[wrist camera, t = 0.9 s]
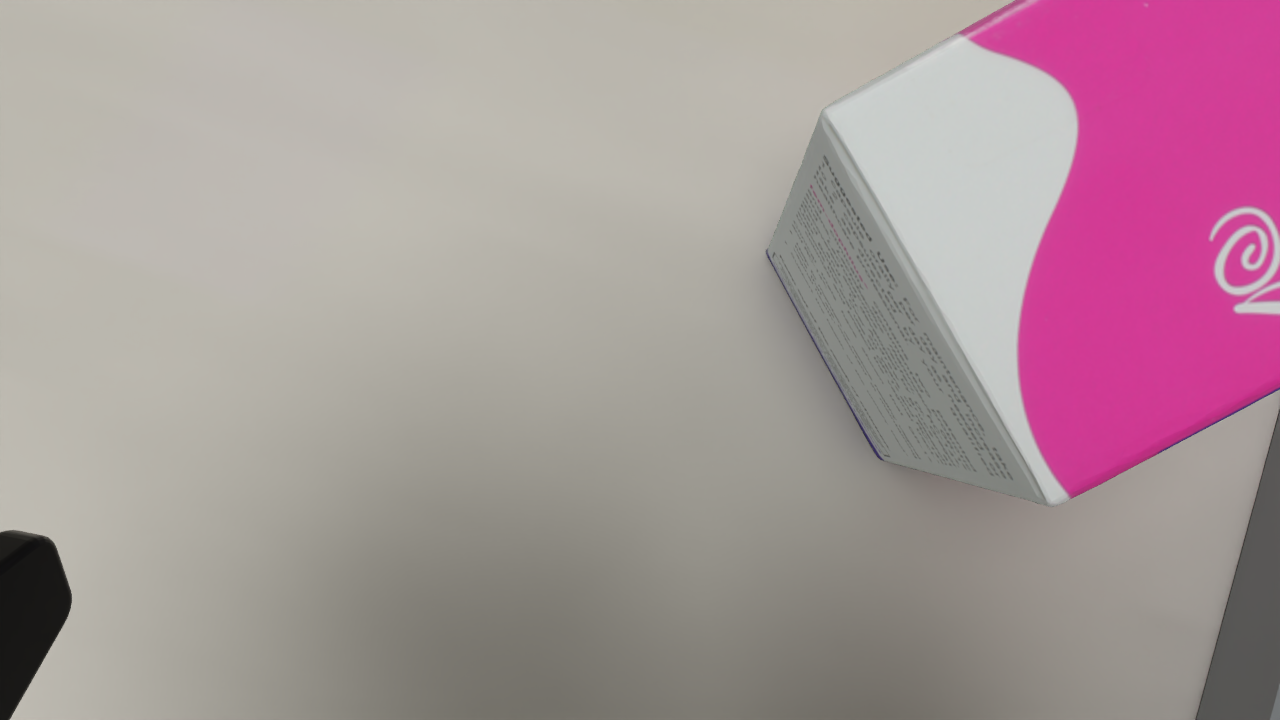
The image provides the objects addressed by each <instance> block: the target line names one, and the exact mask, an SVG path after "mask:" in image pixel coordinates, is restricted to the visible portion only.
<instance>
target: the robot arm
mask: <svg viewBox="0 0 1280 720" xmlns="http://www.w3.org/2000/svg"><path fill="white" fill-rule="evenodd" d="M71 603H72V594H71V590H70V587H69V584H68V581H67V578H66V575H65V572H64V569H63V566H62V563H61V560H60V557H59V554H58V551H57V548H56V546H55V544H54V542H53V541H52V540H50V539H49V538H48V537H45V536H42V535H37V534H32V533H27V532H22V531H16V530H9V531H4V532H1V533H0V720H10V718H11V716H12V714H13V713H14V711H15V709H16V707H17V706H18V704H19V702H20V700H21V699H22V697H23V695H24V693H25V692H26V690H27V688H28V686H29V685H30V683H31V681H32V679H33V678H34V676H35V674H36V672H37V671H38V669H39V667H40V665H41V664H42V662H43V660H44V658H45V657H46V655H47V653H48V651H49V650H50V648H51V646H52V644H53V642H54V641H55V639H56V637H57V635H58V634H59V632H60V630H61V628H62V627H63V625H64V623H65V621H66V619H67V617H68V615H69V612H70V608H71Z"/></svg>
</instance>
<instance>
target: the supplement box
mask: <svg viewBox="0 0 1280 720" xmlns="http://www.w3.org/2000/svg"><path fill="white" fill-rule="evenodd" d="M766 254H767V256H768V258H769V260H770V262H771V264H772V265H773V267H774V269H775V271H776V273H777V275H778V276H779V278H780V280H781V282H782V284H783V286H784V288H785V290H786V291H787V293H788V295H789V297H790V299H791V301H792V302H793V304H794V306H795V308H796V310H797V312H798V314H799V315H800V317H801V319H802V321H803V323H804V325H805V327H806V328H807V330H808V332H809V334H810V336H811V338H812V340H813V341H814V343H815V345H816V347H817V349H818V351H819V352H820V354H821V356H822V358H823V360H824V361H825V363H826V365H827V367H828V369H829V371H830V372H831V374H832V376H833V378H834V380H835V381H836V383H837V385H838V387H839V389H840V391H841V392H842V394H843V396H844V398H845V400H846V401H847V403H848V405H849V407H850V409H851V410H852V412H853V414H854V416H855V418H856V420H857V422H858V423H859V425H860V427H861V429H862V431H863V433H864V435H865V436H866V438H867V440H868V442H869V444H870V445H871V447H872V448H873V451H874V452H875V454H876V455H877V457H878V458H879V459H881V460H883V461H887V462H891V463H894V464H898V465H901V466H905V467H909V468H912V469H917V470H921V471H923V472H928V473H931V474H934V475H938V476H943V477H946V478H949V479H953V480H957V481H960V482H963V483H967V484H970V485H975V486H978V487H981V488H985V489H989V490H993V491H997V492H1000V493H1004V494H1008V495H1010V496H1014V497H1019V498H1022V499H1027V500H1030V501H1033V502H1035V503H1038V504H1043V505H1045V506H1049V507H1054V506H1057V505H1060V504H1063V503H1064V502H1066V501H1068V500H1070V499H1072V498H1074V497H1076V496H1078V495H1080V494H1082V493H1084V492H1086V491H1088V490H1090V489H1092V488H1094V487H1096V486H1098V485H1100V484H1102V483H1104V482H1106V481H1107V480H1109V479H1111V478H1113V477H1115V476H1117V475H1119V474H1120V473H1122V472H1124V471H1126V470H1128V469H1130V468H1132V467H1134V466H1136V465H1138V464H1139V463H1141V462H1143V461H1145V460H1147V459H1149V458H1151V457H1153V456H1155V455H1157V454H1159V453H1160V452H1162V451H1164V450H1166V449H1168V448H1170V447H1172V446H1173V445H1175V444H1177V443H1179V442H1181V441H1183V440H1185V439H1187V438H1189V437H1190V436H1192V435H1194V434H1196V433H1198V432H1200V431H1202V430H1204V429H1206V428H1208V427H1209V426H1211V425H1213V424H1215V423H1217V422H1219V421H1221V420H1223V419H1225V418H1227V417H1229V416H1231V415H1232V414H1234V413H1236V412H1238V411H1240V410H1242V409H1244V408H1246V407H1248V406H1249V405H1251V404H1253V403H1255V402H1257V401H1258V400H1260V399H1262V398H1264V397H1266V396H1268V395H1270V394H1272V393H1273V392H1275V391H1277V390H1279V389H1280V0H1015V1H1013V2H1012V3H1010V4H1008V5H1006V6H1004V7H1003V8H1001V9H999V10H997V11H996V12H994V13H992V14H990V15H988V16H987V17H985V18H983V19H981V20H979V21H977V22H976V23H974V24H972V25H970V26H969V27H967V28H965V29H964V30H962V31H960V32H958V33H957V34H955V35H953V36H951V37H949V38H947V39H945V40H943V41H941V42H939V43H938V44H936V45H934V46H933V47H931V48H929V49H928V50H926V51H924V52H922V53H921V54H919V55H917V56H915V57H913V58H911V59H909V60H907V61H905V62H904V63H902V64H900V65H899V66H897V67H895V68H894V69H892V70H890V71H888V72H887V73H885V74H883V75H881V76H879V77H877V78H875V79H873V80H871V81H870V82H868V83H866V84H864V85H863V86H861V87H859V88H858V89H856V90H854V91H852V92H851V93H849V94H847V95H845V96H843V97H842V98H840V99H838V100H836V101H835V102H833V103H831V104H830V105H828V106H827V107H825V108H824V109H823V110H822V112H821V114H820V117H819V119H818V122H817V125H816V127H815V130H814V133H813V135H812V137H811V140H810V143H809V145H808V148H807V150H806V153H805V156H804V159H803V161H802V164H801V167H800V169H799V171H798V174H797V176H796V179H795V181H794V184H793V186H792V189H791V192H790V195H789V197H788V199H787V202H786V205H785V207H784V210H783V212H782V215H781V217H780V220H779V222H778V224H777V228H776V230H775V232H774V235H773V238H772V240H771V243H770V245H769V247H768V249H767V250H766Z"/></svg>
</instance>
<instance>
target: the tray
mask: <svg viewBox="0 0 1280 720" xmlns="http://www.w3.org/2000/svg"><path fill="white" fill-rule="evenodd" d="M1196 720H1280V412H1279V416H1278V420H1277V423H1276V427H1275V431H1274V435H1273V438H1272V442H1271V446H1270V449H1269V453H1268V457H1267V460H1266V464H1265V468H1264V471H1263V475H1262V479H1261V483H1260V486H1259V490H1258V494H1257V497H1256V501H1255V505H1254V508H1253V512H1252V516H1251V520H1250V523H1249V527H1248V531H1247V534H1246V538H1245V542H1244V545H1243V549H1242V553H1241V556H1240V560H1239V564H1238V568H1237V571H1236V575H1235V579H1234V582H1233V586H1232V590H1231V593H1230V597H1229V601H1228V604H1227V608H1226V612H1225V616H1224V619H1223V623H1222V627H1221V630H1220V634H1219V638H1218V641H1217V645H1216V649H1215V652H1214V656H1213V660H1212V664H1211V667H1210V671H1209V675H1208V678H1207V682H1206V686H1205V689H1204V693H1203V697H1202V700H1201V704H1200V708H1199V712H1198V715H1197V719H1196Z"/></svg>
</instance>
